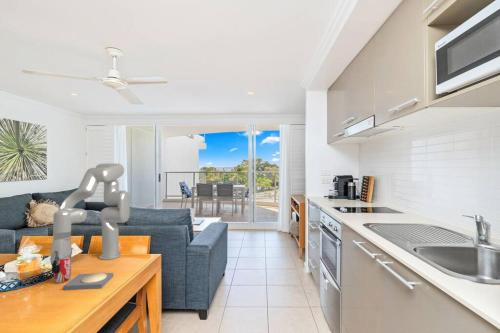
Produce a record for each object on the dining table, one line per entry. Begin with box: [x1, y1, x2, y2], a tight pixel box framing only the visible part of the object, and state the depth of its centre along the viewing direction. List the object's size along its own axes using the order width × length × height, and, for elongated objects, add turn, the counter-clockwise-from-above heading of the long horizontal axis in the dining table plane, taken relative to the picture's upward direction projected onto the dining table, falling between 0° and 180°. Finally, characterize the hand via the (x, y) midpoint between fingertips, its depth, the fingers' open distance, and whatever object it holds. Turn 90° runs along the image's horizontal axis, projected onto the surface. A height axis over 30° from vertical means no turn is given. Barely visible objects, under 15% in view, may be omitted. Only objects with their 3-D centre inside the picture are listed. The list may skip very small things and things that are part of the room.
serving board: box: [63, 272, 114, 291], centre depth 134 cm, size 14×17×3 cm
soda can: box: [53, 256, 72, 284], centre depth 137 cm, size 7×7×12 cm
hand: (61, 269), depth 136 cm, fingers open, 9 cm apart
